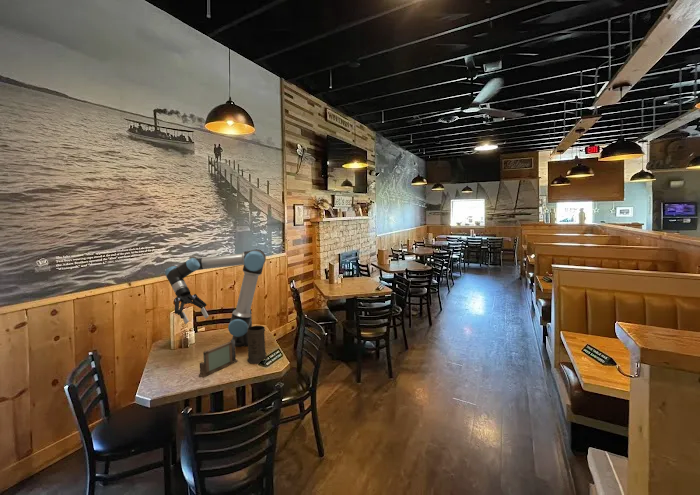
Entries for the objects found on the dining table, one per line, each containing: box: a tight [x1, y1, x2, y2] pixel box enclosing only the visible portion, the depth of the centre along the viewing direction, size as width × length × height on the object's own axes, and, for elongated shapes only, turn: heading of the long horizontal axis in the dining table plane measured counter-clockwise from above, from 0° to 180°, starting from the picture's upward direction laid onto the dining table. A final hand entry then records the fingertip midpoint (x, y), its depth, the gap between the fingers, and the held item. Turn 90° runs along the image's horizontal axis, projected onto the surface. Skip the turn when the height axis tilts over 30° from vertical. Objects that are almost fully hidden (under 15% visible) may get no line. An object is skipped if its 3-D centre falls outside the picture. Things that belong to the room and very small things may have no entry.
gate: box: [202, 341, 232, 373], centre depth 188 cm, size 17×2×11 cm, turn 149°
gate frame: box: [198, 339, 239, 378], centre depth 189 cm, size 23×4×13 cm, turn 149°
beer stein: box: [247, 325, 267, 365], centre depth 201 cm, size 15×11×20 cm
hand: (197, 320), depth 196 cm, fingers open, 13 cm apart
